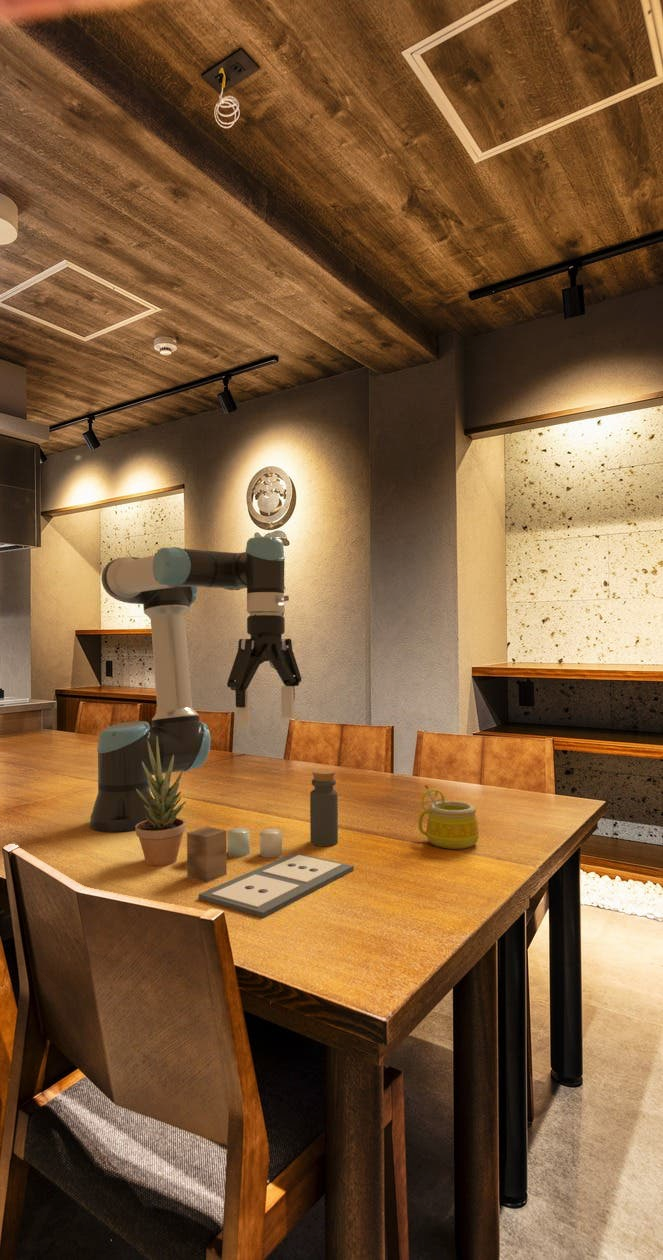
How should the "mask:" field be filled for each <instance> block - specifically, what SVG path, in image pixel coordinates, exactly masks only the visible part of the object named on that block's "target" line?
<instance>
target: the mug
mask: <svg viewBox="0 0 663 1260" xmlns="http://www.w3.org/2000/svg"><path fill="white" fill-rule="evenodd" d="M424 788H425V789H427V791H425V792H424V793H423V795H422V797H421V801H420V803H421V806H422V808H423V811H422V812H421V813H420V814H419V818H418V821H417V822H418V823H417V824H418V830H419V832H420V833H421V834H422V835H424V836H426V837H427V840H428V842H430V843H431V844H432V845H433V846H436V847H439V848H443V849H448V850H449V849H450V850H459V849H461V850H463V849H467V848H471V847H473V846H475V845H476V844H477V843H478V840H479V838H480V835H479V825H478V824H479V823H478V818H477V815H476V811H477V809H476V808H475V806H474V805H473V804H471V803H468V802H464V801H457V800H445V796H444V794H443V793H442V791H440V790H438V789H435V788H433V789H429V785H428V784H425V785H424ZM431 792H434V796H433V795H432V793H431ZM439 794H440V796H441V798H440V799H436V798H437V796H438V795H439ZM426 796H427V797H429V799H430V801H429V800H428V801H425V800H424V799H425V797H426ZM429 803H430V805H429V807H428V808H427V809H426V808H425V804H429ZM427 814H428V817H427V825H426V830H424V828H423V819H424V816H425V815H427Z"/></svg>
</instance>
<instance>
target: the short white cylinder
mask: <svg viewBox="0 0 663 1260" xmlns="http://www.w3.org/2000/svg"><path fill="white" fill-rule="evenodd" d="M259 852H260V853H259V854H260V857H262V858H265V859H266V858H267V859H268V858H269V859H272V858H273V859H274V858H279V857H281V856H282V855H283V831H282V830H281V829H278V828H267V829H263V830H260V832H259Z"/></svg>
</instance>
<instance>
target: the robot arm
mask: <svg viewBox="0 0 663 1260" xmlns="http://www.w3.org/2000/svg"><path fill="white" fill-rule="evenodd" d="M245 547H246V548H245V551H244V552H228V551H216V550H214V551H213V550H201V549H190V548H182V547H161V548H158V550H157V551H156V552H155V554H154V555H149V556H148V555H147V556H145V557H137V556H135V557H134V556H127V557H124V556H123V557H120V558H115V559H113V560H111V561H109V562H108V563H107V564H106V565H105V566H104V568H103V570H102V572H101V579H100V580H101V584H102V587H103V589H104V591H105V592H106V593H107V594H108V595H109V596H110V597H111V598H113V599H115V600H116V601H118V602H123V603H125V604H135V605H137V604H138V605H142V606H143V613H144V615H146V616H147V617H148V618H149V619H150V627H151V628H150V630H151V643H152V644H151V645H152V652H153V653H152V654H153V670H154V682H155V696H156V708H157V712H156V714H155V715H154V716H153V717H152V719H151V725H152V726H151V725H150V723H149V722H148V721H144V720H141V721H140V720H137V721H129V722H122V723H118V724H113V725H111V726H107V727H105V728H104V729H102V730H101V731H100V732H99V734H98V737H97V738H98V739H97V740H98V742H97V743H98V744H97V749H96V752H97V789H98V790H97V795H96V798H95V801H94V805H93V808H92V812H91V813H90V818H89V820H90V821H89V822H90V823H89V825H90V828H92V829H93V830H95V831H101V832H110V833H111V832H113V833H114V832H127V831H128V832H129V831H136V828H135V826H136V825H137V824H138V823H141V822H143V821H147V820H148V819H147V817H146V816H148V817H149V818H150V819H152V818H151V817H150V815H149V812H148V811H147V809H146V808H145V807H144V805H145V806H147V807H148V808H149V806H148V805H147V804H146V802H145V801H144V800H143V799H142V798H141V797H140V795H139V794H138V793H137V791H136V789H138V790H139V791H140V792H141V793H142V792H143V793H145V794H146V795H148V796H149V797H151V796H150V794H152V792H151V790H150V788H149V785H148V780H149V779H148V777H147V775H146V773H145V771H144V768H143V765H142V762H143V763H144V765H145V766H146V768H147V769H148V771H149V773H150V774H151V776H153V775H154V772H153V769H152V765H151V760H150V756H149V751H148V742H149V744H150V747H151V751H152V753H153V757H154V759H155V763H156V766H157V752H156V737H158V745H159V754H160V762H161V767H162V775H164V774H166V772H167V770H168V767H169V764H170V761H171V759H172V756H173V754H174V762H173V768H172V773H177V772H181V771H182V772H188V771H191V770H195V769H196V770H197V769H198V768H201V767H202V766H203V765H204V764H205V763H206V761H207V758H208V757H209V754H210V750H211V741H212V740H211V733H210V730H209V727H208V725H207V724H206V723H205V722H203V721H200V713H198V712H197V711H195V709H194V708H193V699H192V689H191V678H190V674H191V673H190V664H189V651H188V639H187V628H186V626H187V625H186V615H187V614H188V613H189V612H190V611H191V605H193V604H194V603H195V601H196V600H197V593H198V588H199V587H202V588H215V589H218V588H219V589H224V590H228V591H233V590H234V591H239V590H240V591H241V590H242V589H246V613H247V614H249V616H247V617H246V632H247V634H248V635H249V636H250V638H240V639H239V640H238V646H237V653H236V655H235V658H234V661H233V665H232V668H231V671H230V673H229V677H228V679H227V683H226V685H227V686H226V687H227V688H230V690H231V691H234V692H235V694H234V695H235V707H236V717H237V719H236V724H237V725H242V726H250V725H251V690H248V688H249V686H250V684H251V682H252V680H253V678H254V676H255V675H256V672H257V671H258V668H259V667H260V665H261V664H263V663H264V662H270V663H271V664H272V665H273V667H274V669H275V670H276V673H277V674H278V676H279V678H280V680H281V682H282V683H283V685H282V686H281V689H280V692H281V694H280V695H281V698H280V699H281V703H280V704H281V706H280V707H281V718H287V719H294V718H295V696H296V694H295V693H296V692H295V690H296V689H295V687H299V685H300V683H301V682H302V677H301V672H300V670H299V666H298V664H297V660H296V657H295V654H294V651H293V645H292V644H293V642H292V639H291V638H282V635H284V633H285V631H286V628H285V626H286V625H285V624H286V623H285V619H286V618H285V617H284V615H282V614H284V612H285V560H286V557H285V551H284V541H283V540H282V539H281V538H279V537H273V536H272V537H271V536H254V537H250V538H248V540H247V541H246V546H245ZM154 776H155V775H154ZM147 800H148V799H147ZM148 801H149V800H148ZM149 803H150V801H149ZM150 804H151V803H150Z"/></svg>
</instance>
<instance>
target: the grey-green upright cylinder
mask: <svg viewBox="0 0 663 1260" xmlns="http://www.w3.org/2000/svg"><path fill="white" fill-rule="evenodd" d="M250 836H251V835H250V829H249V828H246V827H233V828H230V829H228V830H227V855H228V856H229V857H234V858H235V857H237V858H238V857H240V858H241V857H245V856H248V855H250V852H251V851H250V850H251V849H250V848H251V847H250V838H251V837H250Z"/></svg>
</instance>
